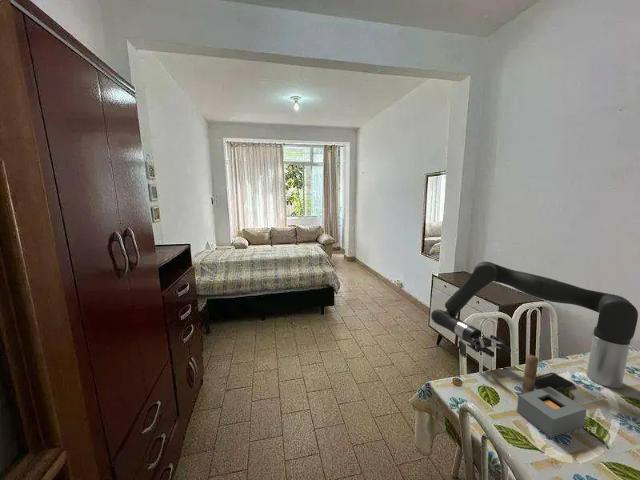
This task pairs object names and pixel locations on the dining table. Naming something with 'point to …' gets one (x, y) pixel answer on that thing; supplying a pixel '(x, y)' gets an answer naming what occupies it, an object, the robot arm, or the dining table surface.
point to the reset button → (551, 404)
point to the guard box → (551, 411)
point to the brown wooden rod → (530, 373)
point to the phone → (553, 382)
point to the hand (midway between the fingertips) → (501, 353)
